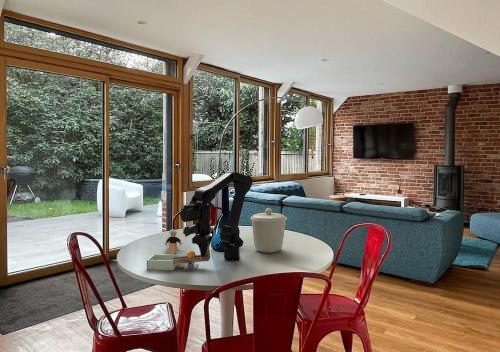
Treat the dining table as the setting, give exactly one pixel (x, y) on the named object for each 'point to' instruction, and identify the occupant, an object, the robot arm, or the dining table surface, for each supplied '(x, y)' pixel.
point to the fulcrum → (190, 266)
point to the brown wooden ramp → (196, 259)
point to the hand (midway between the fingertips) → (204, 255)
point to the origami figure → (168, 244)
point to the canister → (268, 231)
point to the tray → (161, 262)
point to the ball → (191, 254)
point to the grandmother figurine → (173, 242)
